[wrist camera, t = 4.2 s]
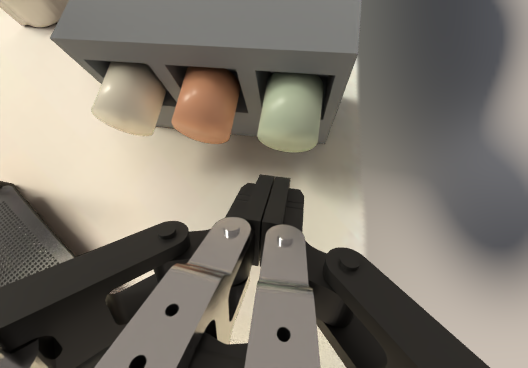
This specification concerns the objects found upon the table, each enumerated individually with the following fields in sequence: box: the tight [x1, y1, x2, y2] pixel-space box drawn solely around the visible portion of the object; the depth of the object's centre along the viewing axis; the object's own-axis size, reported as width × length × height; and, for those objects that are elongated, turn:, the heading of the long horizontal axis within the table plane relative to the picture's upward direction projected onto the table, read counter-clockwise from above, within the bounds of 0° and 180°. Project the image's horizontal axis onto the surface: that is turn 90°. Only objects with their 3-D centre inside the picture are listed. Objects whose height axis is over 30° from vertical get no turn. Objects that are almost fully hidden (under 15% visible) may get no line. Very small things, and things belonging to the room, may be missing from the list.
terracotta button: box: [171, 66, 240, 144], centre depth 20 cm, size 5×5×5 cm
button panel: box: [50, 0, 362, 144], centre depth 23 cm, size 7×23×13 cm, turn 81°
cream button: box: [91, 61, 167, 136], centre depth 21 cm, size 5×5×5 cm
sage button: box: [257, 72, 324, 152], centre depth 19 cm, size 5×5×5 cm
